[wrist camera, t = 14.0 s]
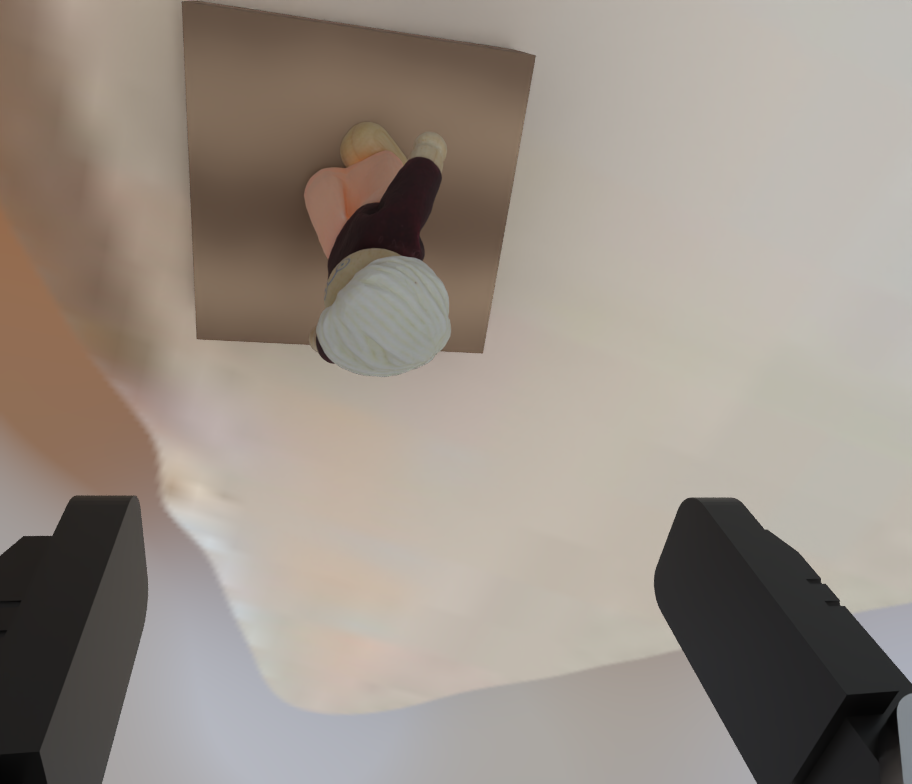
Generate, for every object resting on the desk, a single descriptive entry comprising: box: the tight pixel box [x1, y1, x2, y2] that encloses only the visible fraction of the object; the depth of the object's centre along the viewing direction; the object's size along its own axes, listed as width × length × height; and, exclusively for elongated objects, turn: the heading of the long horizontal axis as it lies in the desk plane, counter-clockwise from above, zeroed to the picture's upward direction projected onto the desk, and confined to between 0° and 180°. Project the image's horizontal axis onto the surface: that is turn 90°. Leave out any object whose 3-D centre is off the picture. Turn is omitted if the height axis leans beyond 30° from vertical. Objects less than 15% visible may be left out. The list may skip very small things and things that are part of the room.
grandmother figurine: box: [304, 122, 451, 377], centre depth 21 cm, size 8×4×13 cm, turn 160°
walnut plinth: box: [182, 1, 536, 353], centre depth 27 cm, size 12×12×3 cm
